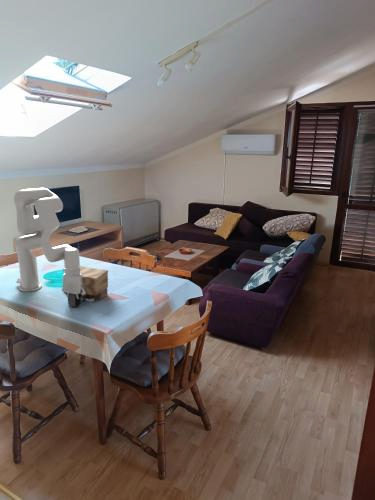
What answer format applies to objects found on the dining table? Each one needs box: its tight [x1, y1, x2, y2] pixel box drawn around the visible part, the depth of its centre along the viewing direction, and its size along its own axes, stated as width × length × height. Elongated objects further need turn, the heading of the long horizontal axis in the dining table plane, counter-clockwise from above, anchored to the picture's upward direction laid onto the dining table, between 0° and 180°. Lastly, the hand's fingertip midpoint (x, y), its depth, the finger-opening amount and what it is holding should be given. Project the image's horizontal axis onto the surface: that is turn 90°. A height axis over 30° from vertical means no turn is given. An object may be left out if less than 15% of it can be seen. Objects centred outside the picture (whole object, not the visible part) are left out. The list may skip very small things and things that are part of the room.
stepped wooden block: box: [80, 265, 109, 300], centre depth 201 cm, size 19×13×15 cm
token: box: [84, 296, 95, 303], centre depth 199 cm, size 5×5×2 cm
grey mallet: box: [67, 293, 88, 308], centre depth 194 cm, size 4×13×7 cm, turn 163°
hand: (74, 303), depth 191 cm, fingers closed on grey mallet, 4 cm apart
